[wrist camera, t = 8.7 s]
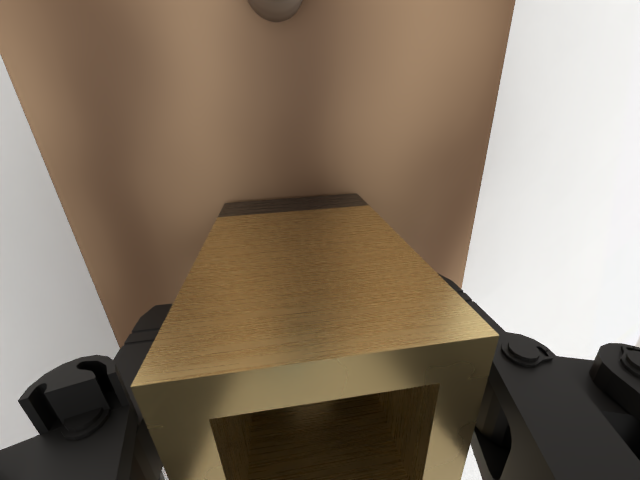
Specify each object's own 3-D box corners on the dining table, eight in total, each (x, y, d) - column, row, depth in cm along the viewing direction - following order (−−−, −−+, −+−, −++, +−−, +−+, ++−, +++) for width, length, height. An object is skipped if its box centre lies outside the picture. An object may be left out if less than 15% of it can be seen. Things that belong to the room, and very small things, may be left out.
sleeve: (243, 313, 13) (207, 570, 6) (224, 203, 11) (130, 387, 4) (355, 300, 14) (449, 519, 6) (356, 193, 12) (499, 335, 4)
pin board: (142, 330, 15) (52, 485, 9) (-47, -203, 8) (-1260, -1391, 2) (436, 295, 17) (530, 402, 11) (504, -162, 10) (914, -639, 4)
